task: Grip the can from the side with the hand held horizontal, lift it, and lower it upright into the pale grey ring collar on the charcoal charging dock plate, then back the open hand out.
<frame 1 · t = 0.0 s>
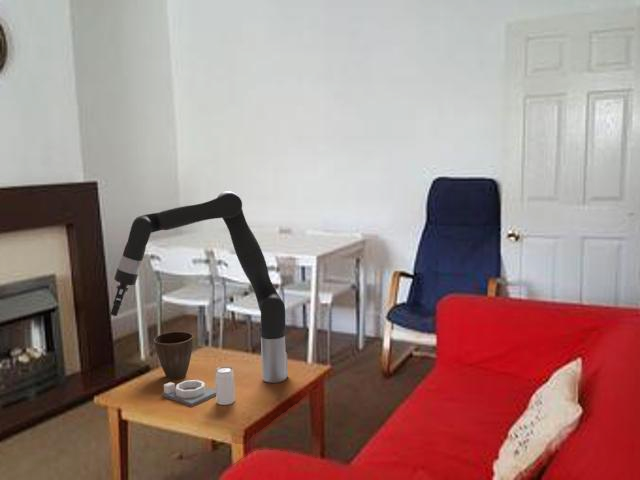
hand: (114, 312, 221), 31 cm above the table, tool tilted 20°, fingers open, 8 cm apart
plant pot: (176, 376, 243), on the table
can: (225, 402, 218), on the table
charging dock: (190, 395, 225), on the table
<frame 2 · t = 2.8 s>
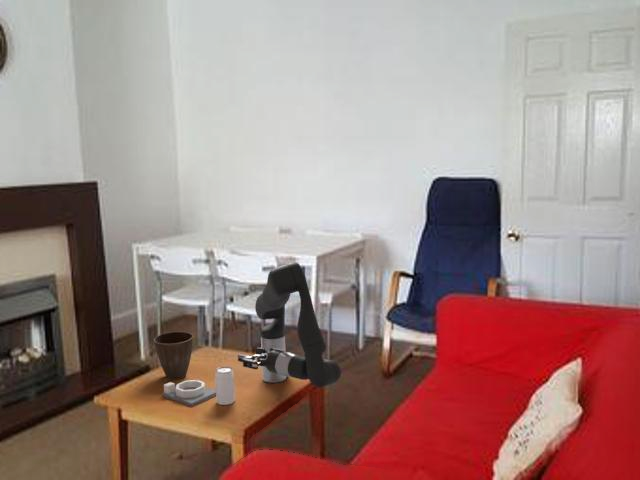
hand: (247, 353, 208), 20 cm above the table, tool horizontal, fingers open, 8 cm apart
nothing on the table moved.
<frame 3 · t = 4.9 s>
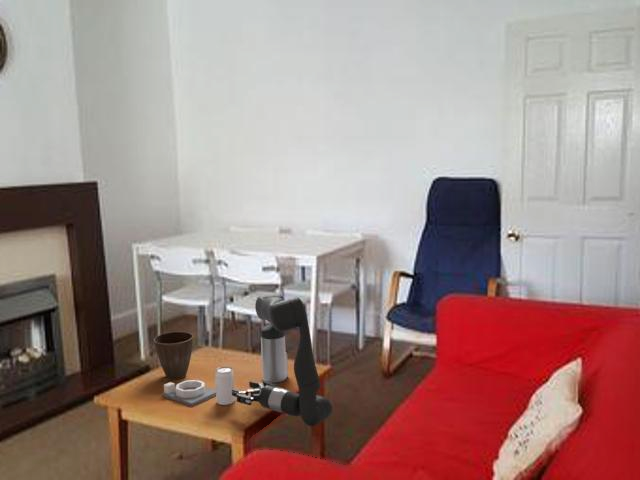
hand: (241, 388, 212), 7 cm above the table, tool horizontal, fingers open, 8 cm apart
nothing on the table moved.
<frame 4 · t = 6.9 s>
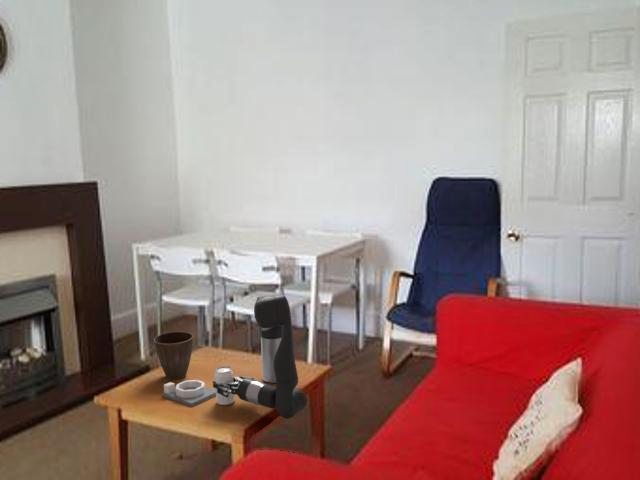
hand: (220, 381, 218), 7 cm above the table, tool horizontal, fingers open, 5 cm apart
can: (225, 402, 218), on the table, touching gripper
everything else where it was.
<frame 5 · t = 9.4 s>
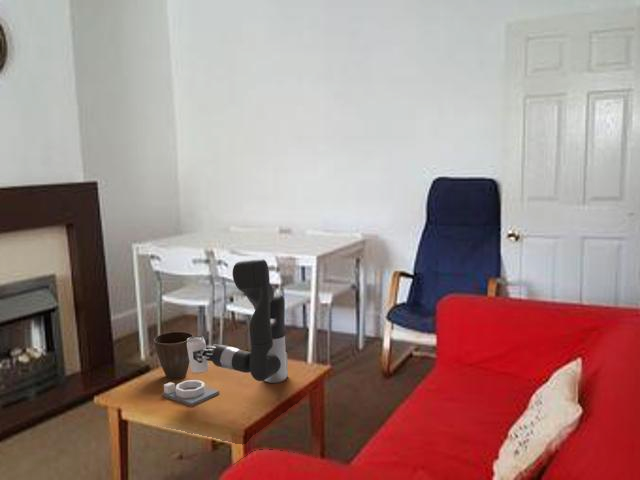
hand: (194, 349, 221), 18 cm above the table, tool horizontal, fingers closed on can, 4 cm apart
can: (200, 370, 220), point 10 cm above the table, touching gripper
everything else where it was.
when the fingers open (11 cm above the table, at t = 11.7 s): can drops 2 cm, resting on charging dock.
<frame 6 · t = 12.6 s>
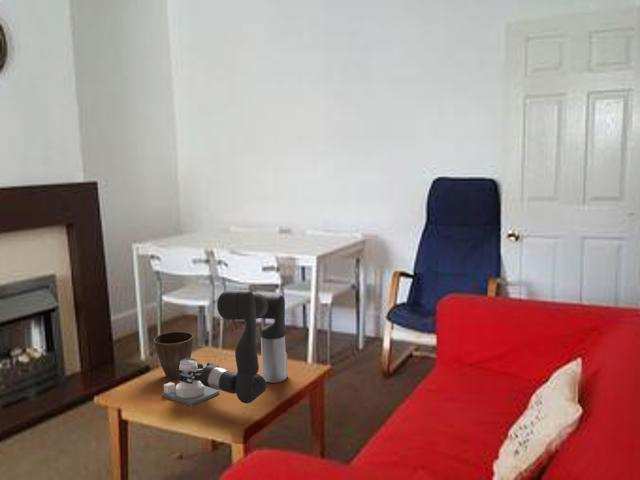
hand: (186, 368, 224), 10 cm above the table, tool horizontal, fingers open, 8 cm apart
can: (190, 393, 224), point 1 cm above the table, touching charging dock
everything else where it was.
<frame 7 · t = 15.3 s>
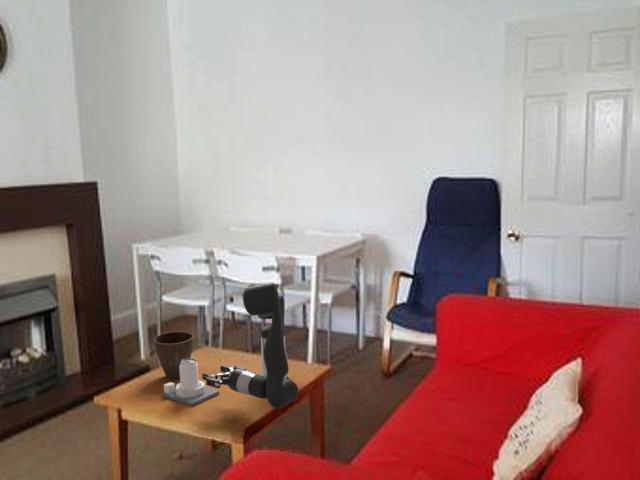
hand: (212, 372, 216), 11 cm above the table, tool horizontal, fingers open, 8 cm apart
nothing on the table moved.
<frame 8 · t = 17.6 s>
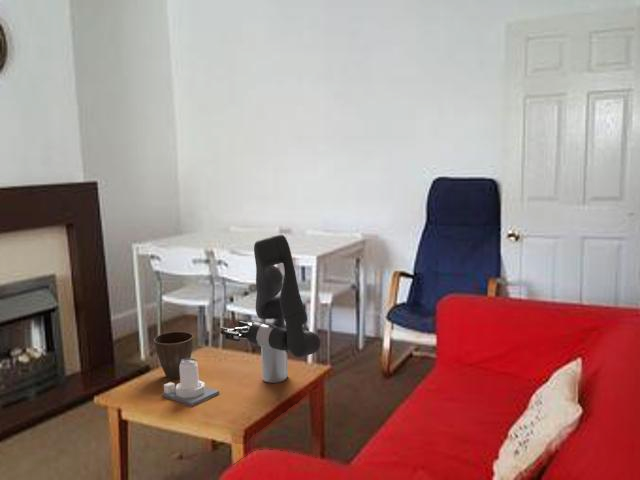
hand: (230, 327, 211), 28 cm above the table, tool horizontal, fingers open, 8 cm apart
nothing on the table moved.
at the end: can 0.6 cm off-centre on the charging dock, point 1.0 cm above the charging dock's base; can tilted 0°; the gripper is holding nothing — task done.
